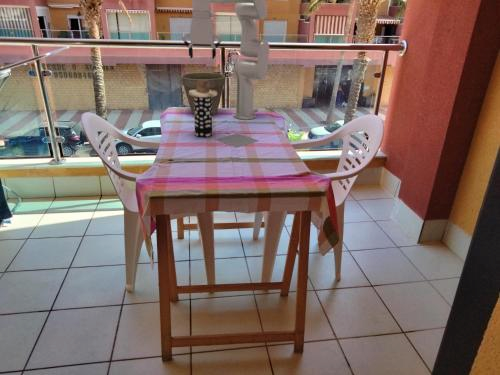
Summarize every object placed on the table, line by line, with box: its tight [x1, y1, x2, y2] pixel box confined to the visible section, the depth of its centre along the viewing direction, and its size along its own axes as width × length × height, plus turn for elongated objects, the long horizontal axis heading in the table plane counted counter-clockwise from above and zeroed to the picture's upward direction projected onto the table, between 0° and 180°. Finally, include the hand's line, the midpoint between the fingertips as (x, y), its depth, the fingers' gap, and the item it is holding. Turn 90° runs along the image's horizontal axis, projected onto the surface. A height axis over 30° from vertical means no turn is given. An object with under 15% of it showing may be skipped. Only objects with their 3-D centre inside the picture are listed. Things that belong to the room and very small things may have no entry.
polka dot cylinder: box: [193, 97, 213, 139], centre depth 175 cm, size 8×8×20 cm
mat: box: [214, 132, 260, 148], centre depth 174 cm, size 15×15×1 cm
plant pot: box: [180, 72, 226, 116], centre depth 214 cm, size 25×25×22 cm
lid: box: [189, 80, 217, 97], centre depth 170 cm, size 13×13×6 cm
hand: (202, 58), depth 164 cm, fingers open, 9 cm apart
